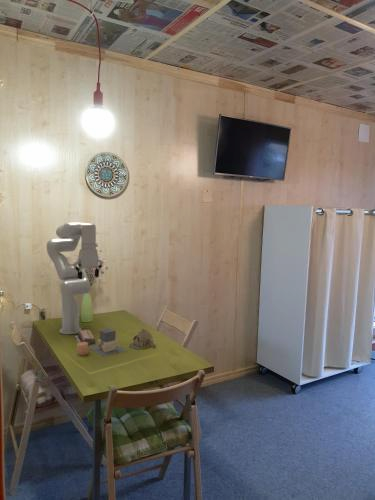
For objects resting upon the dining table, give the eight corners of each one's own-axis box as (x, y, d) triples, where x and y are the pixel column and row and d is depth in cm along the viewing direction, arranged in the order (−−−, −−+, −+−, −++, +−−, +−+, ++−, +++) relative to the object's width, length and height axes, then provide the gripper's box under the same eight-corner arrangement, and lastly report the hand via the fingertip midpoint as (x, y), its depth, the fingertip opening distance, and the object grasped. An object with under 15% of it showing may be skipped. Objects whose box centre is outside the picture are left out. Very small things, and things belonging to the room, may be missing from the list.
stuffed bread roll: (143, 341, 215) (143, 324, 214) (158, 345, 209) (158, 328, 208) (125, 348, 204) (126, 330, 203) (141, 353, 198) (141, 334, 197)
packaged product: (74, 329, 217) (92, 328, 222) (74, 338, 218) (92, 336, 222) (79, 340, 201) (98, 338, 205) (79, 348, 202) (98, 346, 206)
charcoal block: (99, 339, 199) (99, 329, 198) (109, 336, 203) (109, 327, 202) (105, 342, 195) (105, 333, 194) (115, 340, 198) (115, 330, 198)
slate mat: (88, 348, 201) (88, 347, 201) (111, 343, 210) (111, 341, 210) (102, 358, 189) (102, 356, 189) (126, 352, 198) (126, 350, 198)
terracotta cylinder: (75, 354, 193) (75, 343, 192) (85, 352, 196) (85, 341, 196) (79, 358, 189) (79, 346, 188) (90, 355, 192) (90, 344, 192)
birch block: (98, 348, 200) (98, 339, 199) (110, 345, 204) (110, 336, 204) (104, 352, 194) (104, 342, 194) (116, 349, 199) (116, 340, 198)
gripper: (99, 245, 212) (99, 275, 214) (70, 246, 201) (70, 278, 202) (106, 246, 206) (106, 277, 208) (76, 248, 195) (76, 280, 197)
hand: (88, 277), depth 205 cm, fingers open, 9 cm apart
